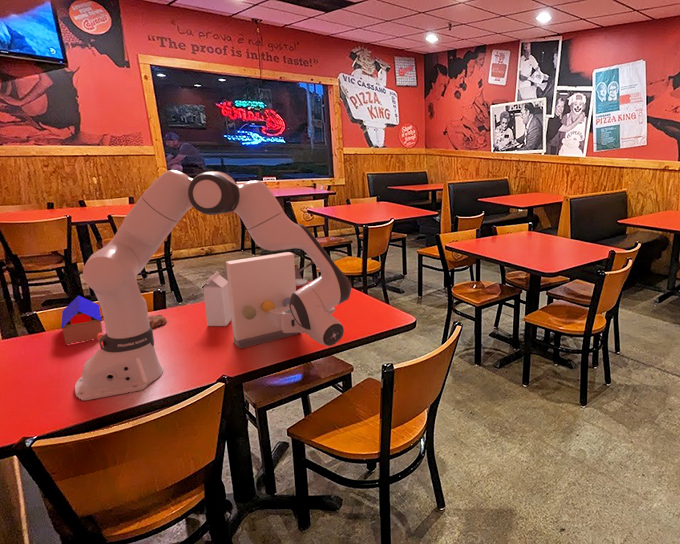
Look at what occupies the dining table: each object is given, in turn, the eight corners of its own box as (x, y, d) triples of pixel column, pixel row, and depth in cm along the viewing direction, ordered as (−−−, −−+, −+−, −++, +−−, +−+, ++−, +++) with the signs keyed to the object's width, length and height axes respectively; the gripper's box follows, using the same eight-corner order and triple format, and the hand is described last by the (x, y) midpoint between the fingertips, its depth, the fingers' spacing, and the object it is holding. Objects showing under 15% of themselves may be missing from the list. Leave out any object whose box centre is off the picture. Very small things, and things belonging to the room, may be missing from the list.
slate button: (285, 311, 146) (284, 300, 145) (282, 309, 149) (281, 298, 147) (296, 309, 148) (295, 297, 147) (292, 306, 150) (292, 295, 149)
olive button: (244, 320, 139) (243, 308, 138) (242, 318, 142) (241, 306, 141) (256, 318, 141) (255, 306, 140) (254, 315, 144) (253, 304, 142)
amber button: (264, 314, 144) (263, 303, 143) (261, 312, 146) (260, 301, 145) (275, 312, 146) (274, 300, 145) (272, 310, 148) (271, 298, 147)
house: (65, 347, 148) (58, 314, 145) (65, 327, 165) (59, 298, 162) (104, 338, 154) (98, 307, 151) (101, 320, 171) (96, 292, 168)
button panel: (239, 348, 143) (231, 265, 135) (233, 342, 148) (225, 261, 140) (300, 333, 154) (296, 255, 146) (293, 327, 158) (289, 252, 151)
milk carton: (232, 319, 168) (227, 271, 163) (226, 326, 161) (220, 277, 156) (214, 319, 169) (209, 271, 164) (207, 326, 162) (201, 276, 157)
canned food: (286, 310, 176) (285, 283, 173) (294, 303, 184) (293, 278, 181) (304, 311, 174) (303, 285, 171) (311, 304, 181) (310, 279, 178)
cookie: (131, 330, 161) (130, 322, 160) (148, 319, 171) (146, 312, 170) (157, 331, 160) (155, 323, 159) (171, 320, 170) (170, 313, 169)
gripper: (337, 301, 139) (317, 290, 151) (277, 314, 130) (261, 301, 141) (338, 320, 141) (318, 307, 153) (279, 334, 131) (262, 320, 143)
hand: (290, 305), depth 147 cm, fingers closed, pressing on slate button
